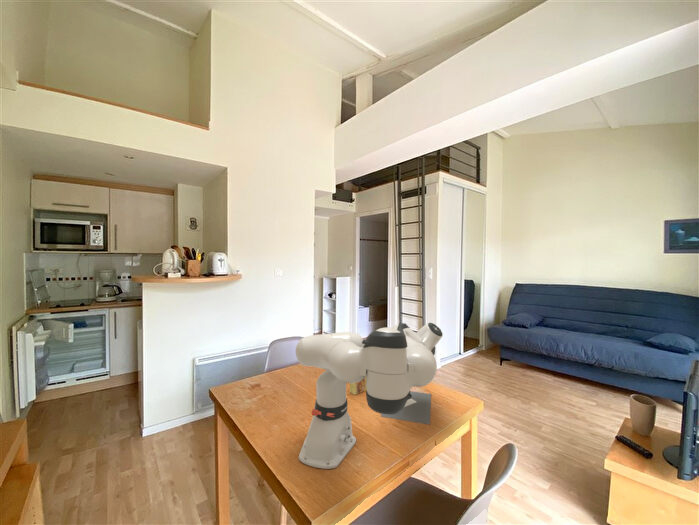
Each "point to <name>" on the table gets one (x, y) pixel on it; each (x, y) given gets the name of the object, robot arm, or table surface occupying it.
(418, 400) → the mat
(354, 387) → the candy box
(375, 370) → the robot arm
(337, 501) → the table surface
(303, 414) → the table surface
